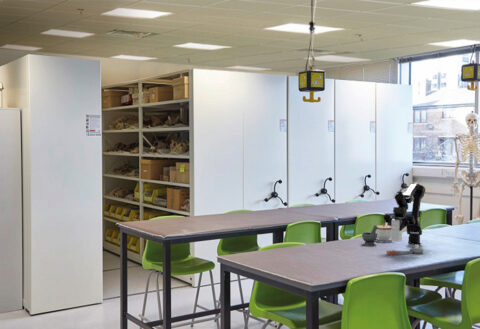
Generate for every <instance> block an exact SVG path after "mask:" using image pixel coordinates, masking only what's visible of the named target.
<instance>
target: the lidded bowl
mask: <svg viewBox="0 0 480 329" xmlns="http://www.w3.org/2000/svg"><path fill="white" fill-rule="evenodd" d="M376 226H377V227H378V228H377V230H376V232H375V233H377V239H378V241H384V242H385V241H389V240H391V225H386V224H385V223H382V224H381V225H379V224H378V225H376Z"/></svg>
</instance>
